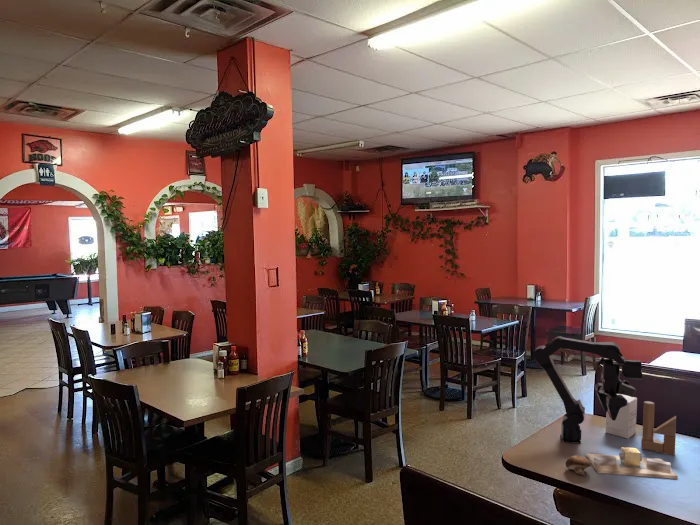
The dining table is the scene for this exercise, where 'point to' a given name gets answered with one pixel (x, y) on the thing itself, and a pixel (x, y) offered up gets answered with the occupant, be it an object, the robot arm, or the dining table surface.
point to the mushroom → (578, 464)
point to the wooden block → (665, 429)
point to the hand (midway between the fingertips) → (609, 415)
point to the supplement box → (623, 419)
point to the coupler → (630, 456)
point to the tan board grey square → (647, 466)
